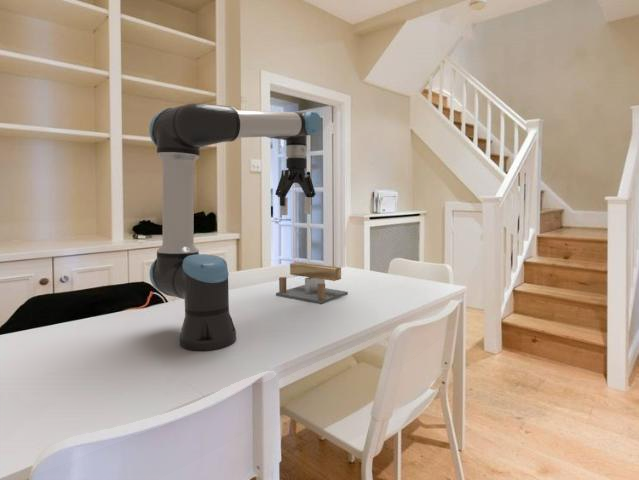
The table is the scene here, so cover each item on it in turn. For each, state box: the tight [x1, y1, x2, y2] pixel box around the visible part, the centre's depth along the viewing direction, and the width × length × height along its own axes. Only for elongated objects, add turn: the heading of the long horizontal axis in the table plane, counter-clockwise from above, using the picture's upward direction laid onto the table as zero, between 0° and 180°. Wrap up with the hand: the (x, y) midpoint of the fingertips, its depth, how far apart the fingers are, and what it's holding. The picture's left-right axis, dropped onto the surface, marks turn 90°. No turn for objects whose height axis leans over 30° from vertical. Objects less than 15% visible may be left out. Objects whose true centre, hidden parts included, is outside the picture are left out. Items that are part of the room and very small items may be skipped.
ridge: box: [304, 277, 326, 294], centre depth 168 cm, size 10×2×7 cm, turn 143°
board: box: [275, 276, 349, 305], centre depth 166 cm, size 18×22×7 cm
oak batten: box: [289, 261, 342, 282], centre depth 167 cm, size 4×22×4 cm, turn 53°
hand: (296, 214), depth 160 cm, fingers open, 13 cm apart
